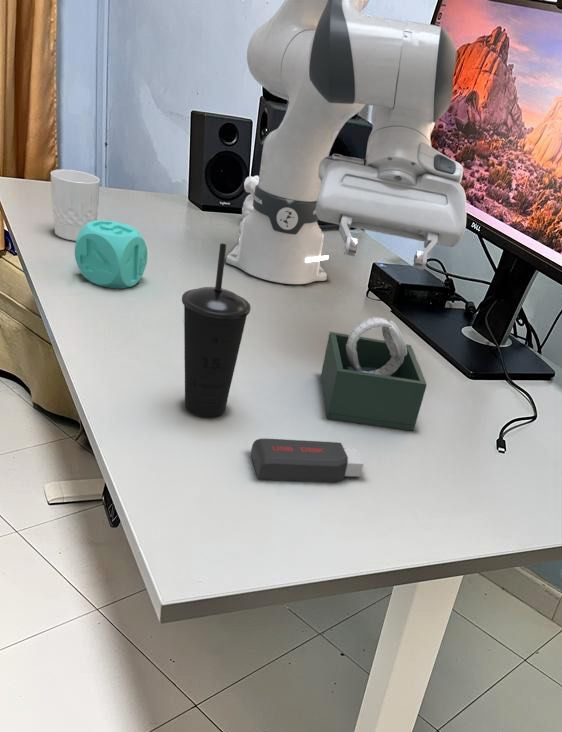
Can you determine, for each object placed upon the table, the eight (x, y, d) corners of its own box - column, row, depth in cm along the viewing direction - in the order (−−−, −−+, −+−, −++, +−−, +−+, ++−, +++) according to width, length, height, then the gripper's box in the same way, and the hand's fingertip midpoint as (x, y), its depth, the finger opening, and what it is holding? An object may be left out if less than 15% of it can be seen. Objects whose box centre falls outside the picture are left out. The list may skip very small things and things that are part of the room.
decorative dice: (118, 292, 118) (120, 240, 113) (73, 277, 119) (74, 225, 115) (146, 281, 124) (149, 231, 120) (103, 266, 126) (105, 217, 121)
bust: (244, 227, 170) (219, 182, 161) (272, 208, 170) (248, 162, 162) (264, 246, 161) (239, 199, 153) (293, 226, 162) (270, 178, 154)
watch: (398, 407, 103) (420, 331, 97) (344, 406, 100) (363, 327, 94) (382, 388, 107) (401, 313, 101) (330, 386, 104) (346, 309, 98)
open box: (320, 376, 108) (329, 331, 104) (399, 388, 110) (410, 344, 107) (327, 418, 98) (337, 370, 94) (413, 431, 100) (427, 384, 96)
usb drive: (250, 454, 87) (253, 433, 85) (350, 458, 91) (355, 438, 89) (257, 479, 83) (261, 458, 81) (361, 483, 87) (367, 462, 85)
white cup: (63, 225, 139) (63, 166, 133) (105, 235, 139) (107, 178, 133) (42, 234, 132) (42, 174, 126) (87, 246, 132) (88, 185, 126)
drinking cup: (166, 393, 94) (180, 229, 83) (226, 393, 98) (247, 236, 87) (180, 424, 89) (196, 253, 78) (243, 423, 92) (267, 259, 81)
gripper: (324, 136, 99) (309, 232, 97) (475, 168, 102) (464, 263, 99) (319, 165, 106) (305, 256, 103) (461, 195, 108) (451, 285, 106)
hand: (384, 260), depth 101 cm, fingers open, 8 cm apart
